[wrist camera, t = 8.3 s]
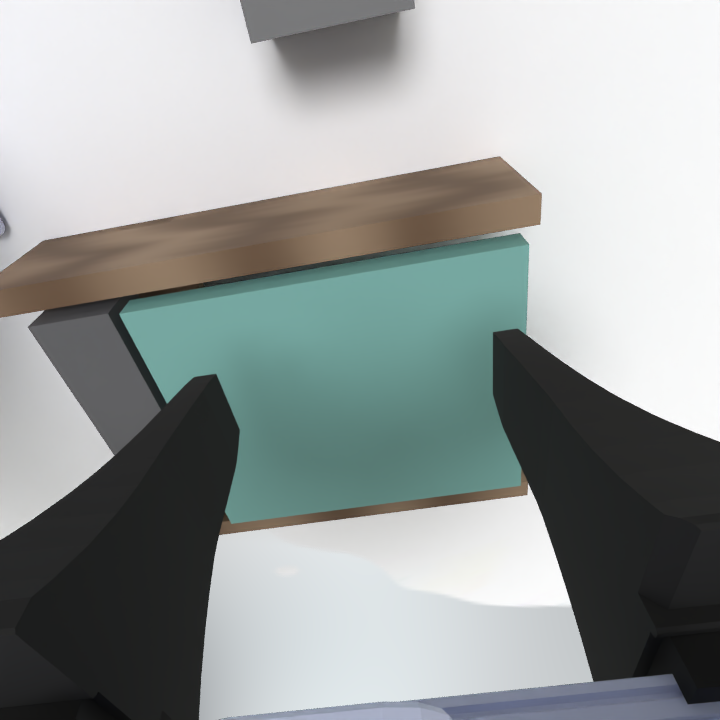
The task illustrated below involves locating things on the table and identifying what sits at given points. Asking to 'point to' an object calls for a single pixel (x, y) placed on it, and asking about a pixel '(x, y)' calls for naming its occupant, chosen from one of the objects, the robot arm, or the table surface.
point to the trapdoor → (319, 373)
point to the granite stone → (310, 14)
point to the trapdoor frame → (279, 256)
